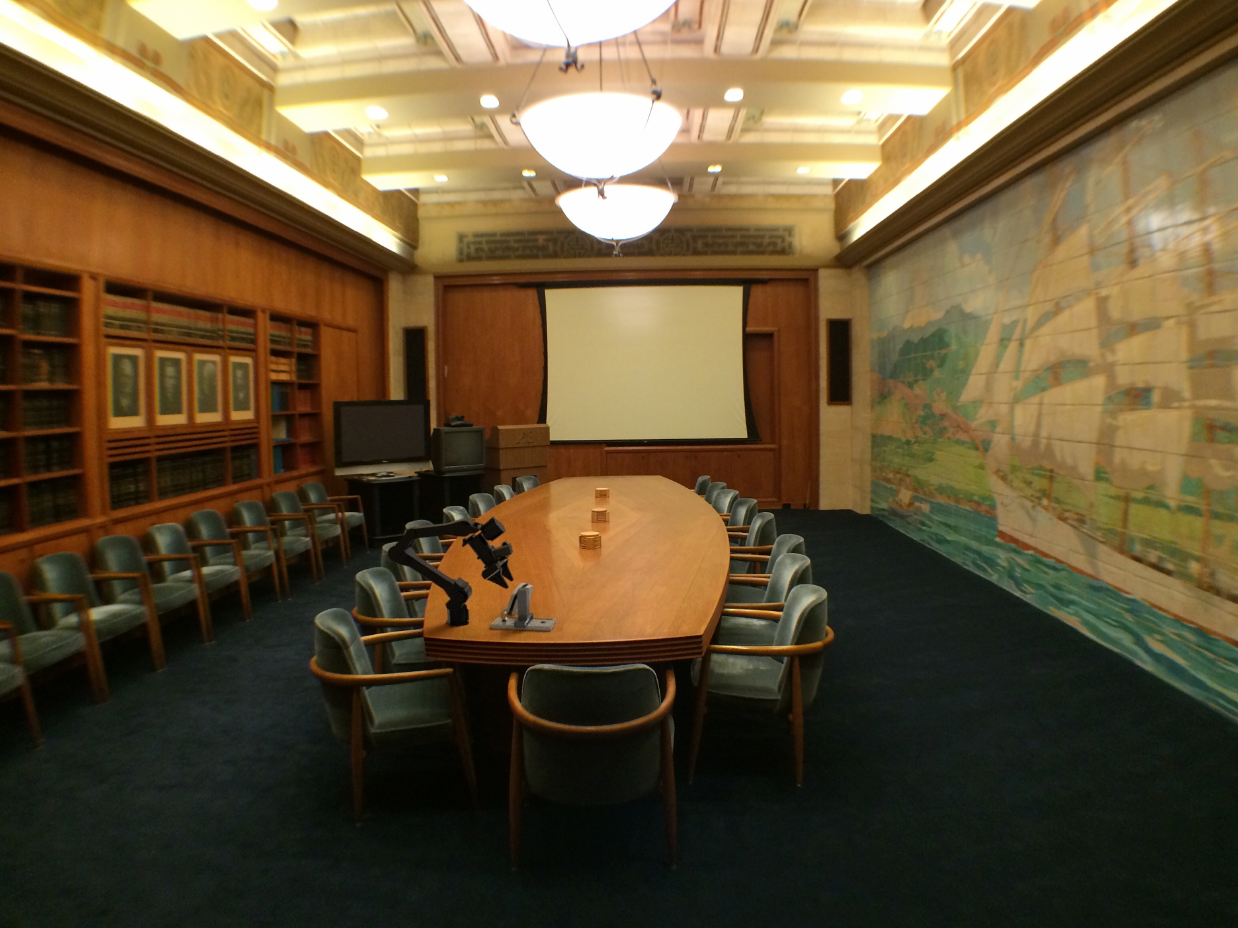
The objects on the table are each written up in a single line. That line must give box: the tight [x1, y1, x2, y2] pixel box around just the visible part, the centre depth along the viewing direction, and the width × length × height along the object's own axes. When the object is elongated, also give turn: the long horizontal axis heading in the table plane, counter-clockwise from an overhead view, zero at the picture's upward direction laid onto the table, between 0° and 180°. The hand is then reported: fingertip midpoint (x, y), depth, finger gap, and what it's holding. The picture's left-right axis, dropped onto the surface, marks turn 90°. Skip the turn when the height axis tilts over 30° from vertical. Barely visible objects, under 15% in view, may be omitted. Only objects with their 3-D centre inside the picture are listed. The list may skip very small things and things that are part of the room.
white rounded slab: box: [501, 582, 534, 616], centre depth 259 cm, size 17×5×10 cm, turn 168°
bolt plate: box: [490, 612, 557, 632], centre depth 239 cm, size 21×8×4 cm, turn 82°
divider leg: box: [514, 588, 534, 628], centre depth 239 cm, size 4×10×12 cm, turn 172°
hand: (510, 584), depth 241 cm, fingers open, 9 cm apart
